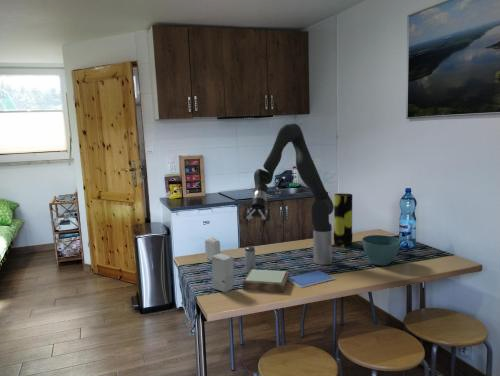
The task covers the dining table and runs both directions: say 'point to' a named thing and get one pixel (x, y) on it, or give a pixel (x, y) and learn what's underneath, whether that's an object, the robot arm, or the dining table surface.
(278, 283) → the plinth
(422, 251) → the dining table surface
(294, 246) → the dining table surface
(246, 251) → the ceramic jar
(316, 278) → the blue notebook
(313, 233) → the robot arm
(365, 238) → the plant pot
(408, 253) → the dining table surface
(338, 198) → the container
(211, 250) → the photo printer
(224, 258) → the skincare box
